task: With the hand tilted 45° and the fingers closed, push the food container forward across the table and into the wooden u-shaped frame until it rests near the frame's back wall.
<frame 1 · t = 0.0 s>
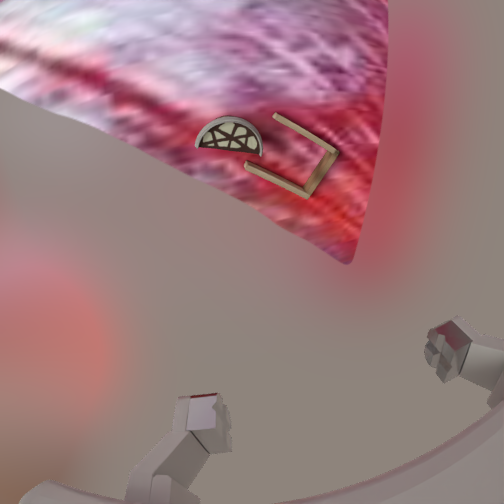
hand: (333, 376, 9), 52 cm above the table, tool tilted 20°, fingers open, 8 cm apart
wooden u-shaped frame: (288, 154, 56), on the table
food container: (228, 124, 51), on the table
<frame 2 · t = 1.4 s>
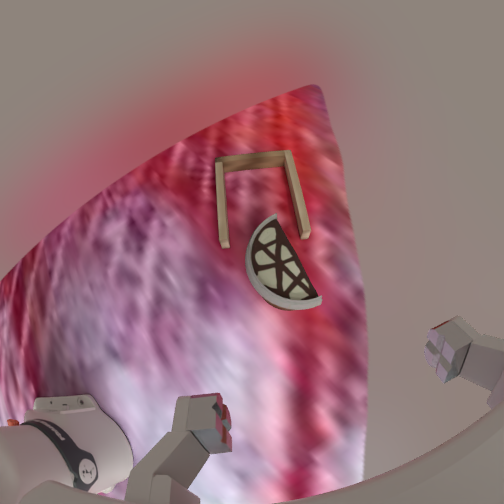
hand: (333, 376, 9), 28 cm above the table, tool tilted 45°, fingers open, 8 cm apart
wooden u-shaped frame: (259, 202, 45), on the table
food container: (271, 287, 39), on the table
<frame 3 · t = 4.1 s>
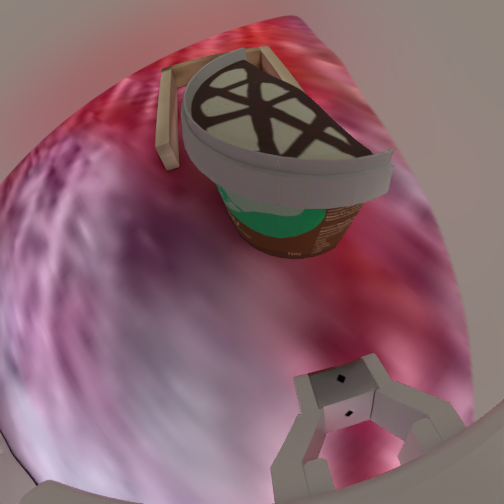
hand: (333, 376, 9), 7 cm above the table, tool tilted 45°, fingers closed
wooden u-shaped frame: (228, 106, 25), on the table
food container: (260, 219, 19), on the table
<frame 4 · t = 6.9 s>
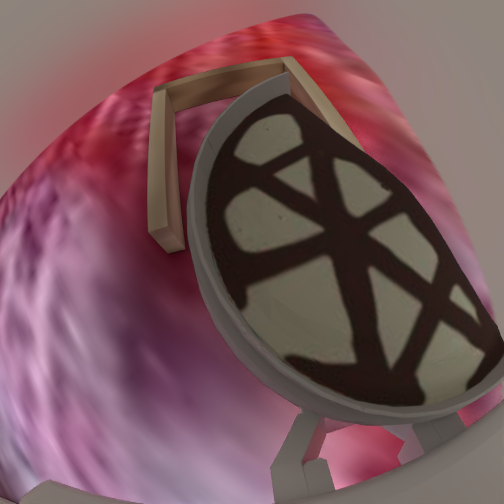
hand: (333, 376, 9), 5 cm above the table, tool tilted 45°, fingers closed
wooden u-shaped frame: (245, 145, 20), on the table
food container: (298, 317, 15), on the table, touching gripper
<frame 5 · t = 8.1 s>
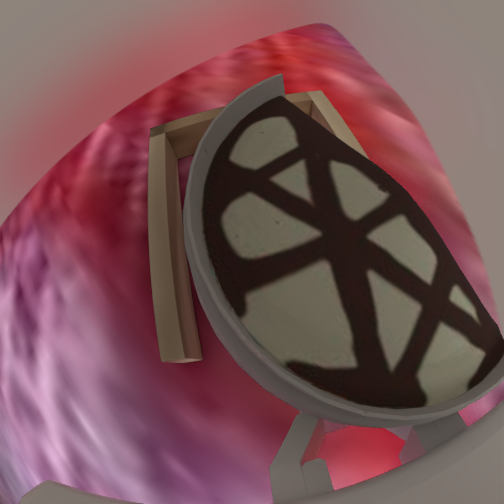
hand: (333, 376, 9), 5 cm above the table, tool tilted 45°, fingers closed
wooden u-shaped frame: (268, 219, 17), on the table
food container: (297, 319, 15), on the table, touching gripper
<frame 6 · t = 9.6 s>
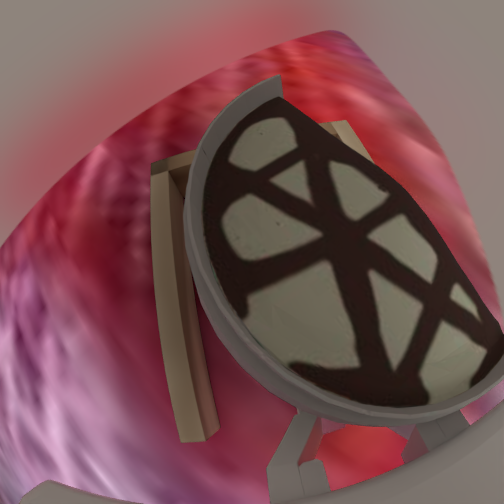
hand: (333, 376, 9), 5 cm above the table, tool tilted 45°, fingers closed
wooden u-shaped frame: (288, 278, 15), on the table
food container: (298, 319, 15), on the table, touching gripper
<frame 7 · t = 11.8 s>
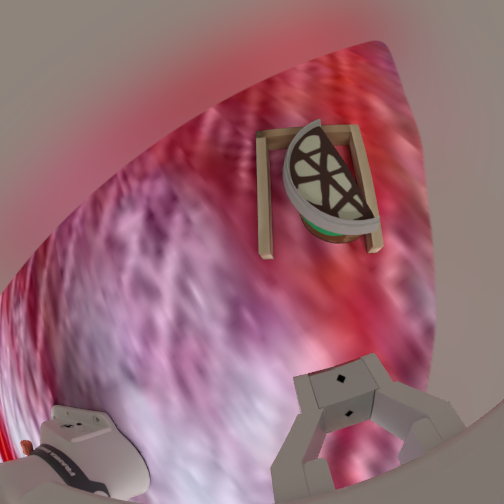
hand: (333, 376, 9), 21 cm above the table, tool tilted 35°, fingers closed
wooden u-shaped frame: (315, 196, 32), on the table
food container: (316, 215, 32), on the table
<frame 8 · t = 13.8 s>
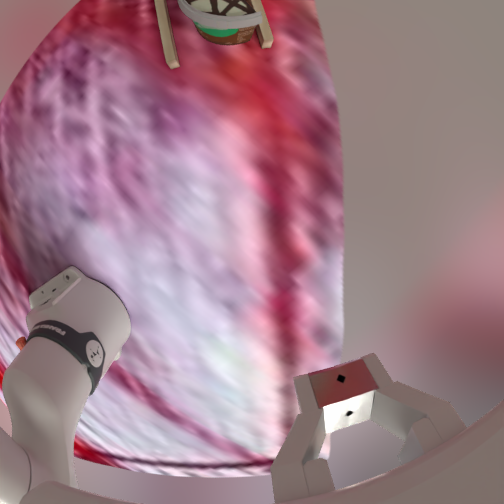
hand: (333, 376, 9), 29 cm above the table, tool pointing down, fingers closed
wooden u-shaped frame: (209, 15, 26), on the table
food container: (212, 28, 27), on the table
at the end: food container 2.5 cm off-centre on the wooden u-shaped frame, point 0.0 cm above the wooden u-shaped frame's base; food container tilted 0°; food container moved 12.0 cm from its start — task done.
